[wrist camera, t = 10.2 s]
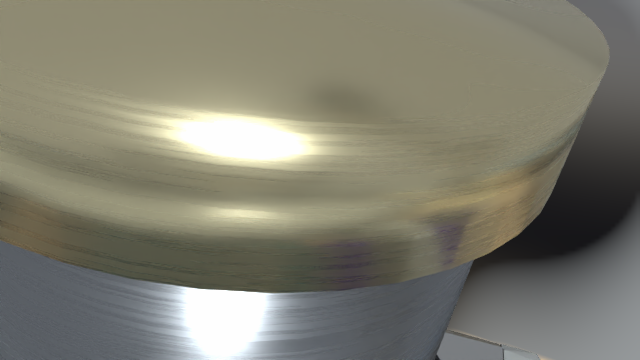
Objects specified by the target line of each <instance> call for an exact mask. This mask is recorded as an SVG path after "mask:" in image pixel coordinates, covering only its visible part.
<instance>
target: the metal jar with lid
mask: <svg viewBox="0 0 640 360" xmlns="http://www.w3.org/2000/svg"><path fill="white" fill-rule="evenodd" d="M609 52H610V49H609V47H608V44H607V42H606V39H605V37H604V35H603V34H602V32H601V31H600V30H599V29H598V27H597V26H596V25H595V23H594V22H593V21H592V20H590V19H589V18H588V17H587V16H586V15H584V14H583V13H582V12H581V11H580V10H579V9H578V8H576V7H575V6H573V5H572V4H570V3H569V2H567V1H566V0H0V360H435V357H436V355H437V352H438V350H439V347H440V344H441V342H442V339H443V337H444V334H445V332H446V329H447V327H448V324H449V321H450V319H451V316H452V314H453V311H454V309H455V306H456V303H457V301H458V298H459V296H460V293H461V290H462V288H463V285H464V283H465V280H466V278H467V275H468V273H469V270H470V267H471V265H472V262H473V260H474V259H476V258H479V257H481V256H483V255H486V254H488V253H490V252H491V251H493V250H495V249H496V248H498V247H499V246H501V245H503V244H504V243H506V242H508V241H509V240H510V239H512V238H514V237H515V236H517V235H519V234H520V233H521V232H522V231H523V229H524V228H526V227H527V226H528V225H529V224H530V223H531V222H532V220H534V219H535V218H536V217H537V216H538V215H539V214H540V212H541V210H542V208H543V207H544V205H545V203H546V201H547V199H548V198H549V196H550V194H551V192H552V190H553V188H554V186H555V183H556V181H557V179H558V177H559V174H560V172H561V170H562V167H563V165H564V163H565V161H566V158H567V156H568V154H569V152H570V149H571V147H572V145H573V143H574V140H575V138H576V136H577V134H578V131H579V129H580V127H581V125H582V122H583V120H584V118H585V116H586V113H587V111H588V109H589V106H590V104H591V102H592V100H593V98H594V95H595V93H596V91H597V89H598V86H599V84H600V82H601V80H602V77H603V75H604V73H605V71H606V68H607V66H608V63H609Z"/></svg>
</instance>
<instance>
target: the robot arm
mask: <svg viewBox="0 0 640 360" xmlns="http://www.w3.org/2000/svg"><path fill="white" fill-rule="evenodd" d="M435 360H540V358H539V357H538V355H537V354H535V353H532V352H528V351H524V350H521V349H517V348H513V347H510V346H506V345H502V344H500V345H499V344H497V343H493V342H490V341H486V340H483V339H479V338H476V337H472V336H469V335H465V334H461V333H458V332H454V331H451V330H447V329H446V332H445V334H444V337H443V339H442V342H441V344H440V347H439V350H438V352H437V355H436V357H435Z"/></svg>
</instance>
